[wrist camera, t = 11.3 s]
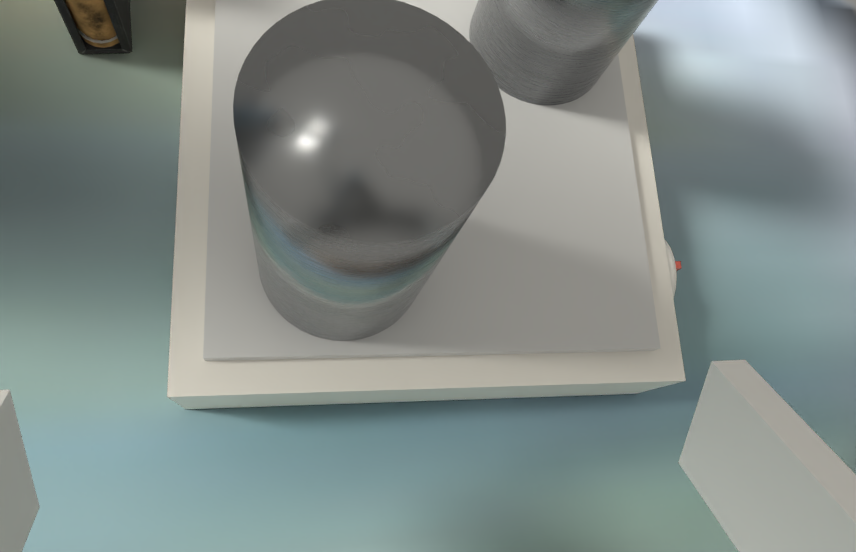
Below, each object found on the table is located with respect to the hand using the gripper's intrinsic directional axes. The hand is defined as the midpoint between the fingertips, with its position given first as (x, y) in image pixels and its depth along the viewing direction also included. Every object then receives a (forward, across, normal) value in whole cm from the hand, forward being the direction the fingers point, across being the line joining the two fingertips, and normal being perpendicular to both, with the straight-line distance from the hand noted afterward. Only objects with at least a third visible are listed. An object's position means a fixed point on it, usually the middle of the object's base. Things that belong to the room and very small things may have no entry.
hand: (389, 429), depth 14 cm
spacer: (+9, 0, -1) cm, 9 cm away
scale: (+14, +3, -1) cm, 15 cm away
